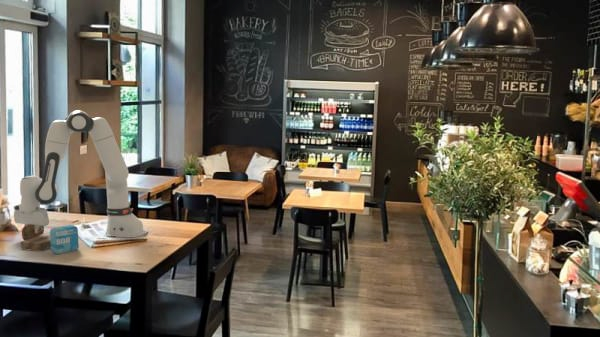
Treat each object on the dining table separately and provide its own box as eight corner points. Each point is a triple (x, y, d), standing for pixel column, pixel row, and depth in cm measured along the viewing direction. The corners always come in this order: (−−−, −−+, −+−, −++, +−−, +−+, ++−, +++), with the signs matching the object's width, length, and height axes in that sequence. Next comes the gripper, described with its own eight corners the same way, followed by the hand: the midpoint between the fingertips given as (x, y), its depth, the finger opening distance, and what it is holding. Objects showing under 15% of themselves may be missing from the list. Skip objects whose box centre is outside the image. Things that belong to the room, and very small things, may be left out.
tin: (26, 243, 307) (25, 227, 306) (21, 243, 308) (19, 226, 307) (44, 235, 322) (43, 220, 321) (39, 235, 323) (38, 220, 321)
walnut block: (68, 241, 313) (67, 233, 313) (41, 251, 295) (41, 243, 294) (49, 239, 317) (48, 231, 316) (21, 249, 298) (20, 241, 297)
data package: (55, 254, 288) (53, 230, 286) (50, 253, 291) (49, 228, 289) (79, 249, 297) (77, 225, 295) (74, 247, 300) (73, 224, 298)
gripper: (51, 207, 311) (52, 233, 314) (20, 204, 319) (22, 229, 321) (41, 209, 306) (43, 236, 308) (10, 206, 313) (12, 232, 315)
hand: (32, 232), depth 314 cm, fingers closed on tin, 3 cm apart
